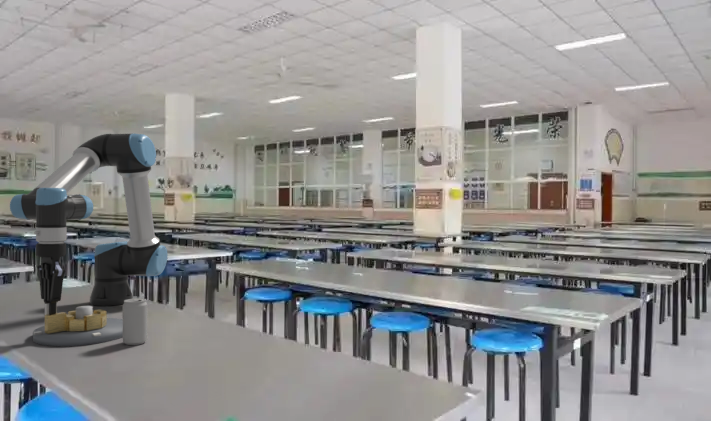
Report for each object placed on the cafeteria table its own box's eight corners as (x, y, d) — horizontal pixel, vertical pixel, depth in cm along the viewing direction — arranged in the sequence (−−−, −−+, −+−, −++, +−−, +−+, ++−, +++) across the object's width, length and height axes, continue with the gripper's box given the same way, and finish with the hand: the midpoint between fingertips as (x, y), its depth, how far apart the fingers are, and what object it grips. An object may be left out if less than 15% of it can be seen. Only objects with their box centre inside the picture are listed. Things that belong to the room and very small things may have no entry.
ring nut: (93, 320, 167) (93, 304, 167) (112, 325, 160) (112, 309, 160) (37, 330, 154) (37, 312, 154) (55, 336, 147) (55, 318, 147)
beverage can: (138, 346, 146) (138, 302, 146) (117, 345, 147) (117, 301, 147) (152, 340, 152) (152, 298, 152) (131, 339, 154) (131, 297, 153)
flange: (115, 320, 177) (115, 296, 177) (145, 335, 158) (145, 308, 158) (24, 332, 160) (24, 305, 160) (44, 351, 140) (44, 321, 140)
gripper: (27, 241, 153) (27, 323, 154) (46, 244, 145) (45, 331, 146) (55, 240, 159) (55, 319, 160) (75, 243, 151) (74, 326, 152)
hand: (50, 325), depth 153 cm, fingers closed
